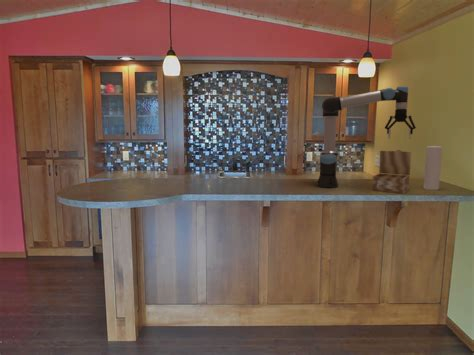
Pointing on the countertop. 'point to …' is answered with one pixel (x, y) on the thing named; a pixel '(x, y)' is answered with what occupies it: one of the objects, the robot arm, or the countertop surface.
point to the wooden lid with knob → (395, 162)
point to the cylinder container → (432, 167)
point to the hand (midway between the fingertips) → (399, 138)
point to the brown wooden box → (391, 183)
